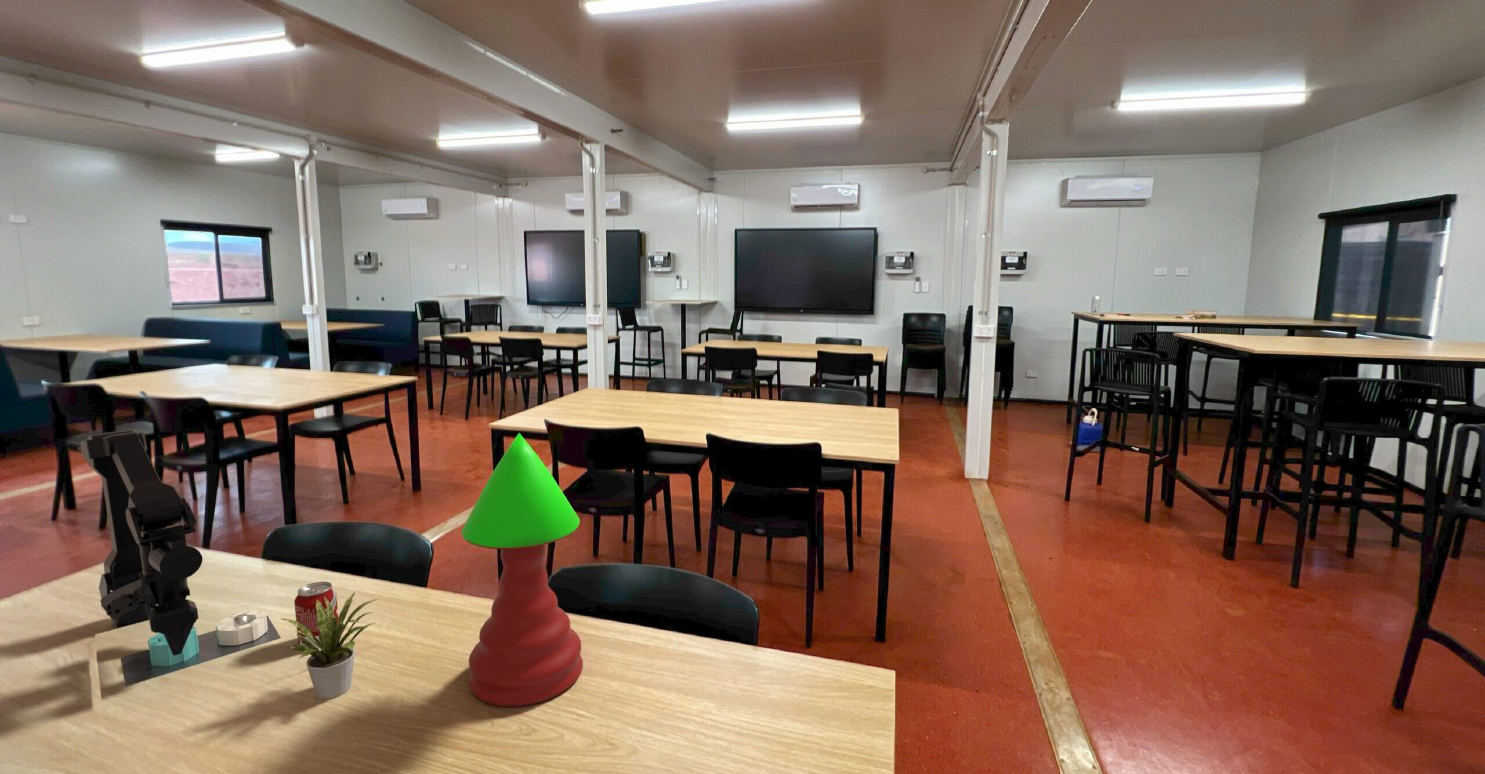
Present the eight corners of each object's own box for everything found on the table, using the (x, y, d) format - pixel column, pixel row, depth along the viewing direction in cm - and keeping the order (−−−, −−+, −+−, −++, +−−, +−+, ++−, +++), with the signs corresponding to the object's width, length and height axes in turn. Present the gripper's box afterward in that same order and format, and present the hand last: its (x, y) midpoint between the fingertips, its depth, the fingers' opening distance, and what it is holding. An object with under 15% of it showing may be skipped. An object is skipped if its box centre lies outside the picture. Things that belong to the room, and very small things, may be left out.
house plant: (406, 675, 117) (400, 590, 115) (336, 723, 104) (328, 629, 102) (346, 659, 122) (340, 577, 119) (272, 703, 109) (263, 612, 106)
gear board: (121, 663, 119) (117, 631, 118) (267, 620, 135) (265, 592, 134) (126, 692, 111) (122, 659, 110) (281, 643, 126) (278, 613, 126)
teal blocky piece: (149, 655, 120) (146, 635, 119) (195, 641, 124) (193, 622, 124) (153, 670, 115) (150, 649, 114) (200, 655, 120) (198, 635, 119)
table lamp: (537, 633, 132) (531, 416, 125) (605, 667, 121) (602, 431, 114) (445, 680, 116) (431, 434, 109) (513, 724, 105) (503, 454, 98)
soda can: (320, 657, 122) (315, 598, 120) (289, 653, 123) (284, 593, 121) (348, 639, 129) (344, 582, 127) (319, 634, 130) (314, 578, 128)
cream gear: (215, 634, 127) (213, 620, 126) (262, 620, 132) (260, 606, 132) (221, 650, 122) (220, 635, 121) (270, 634, 127) (269, 620, 126)
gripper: (98, 560, 117) (110, 640, 120) (104, 596, 105) (116, 685, 107) (179, 544, 125) (188, 619, 128) (193, 575, 113) (203, 658, 115)
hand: (173, 644), depth 119 cm, fingers open, 9 cm apart
